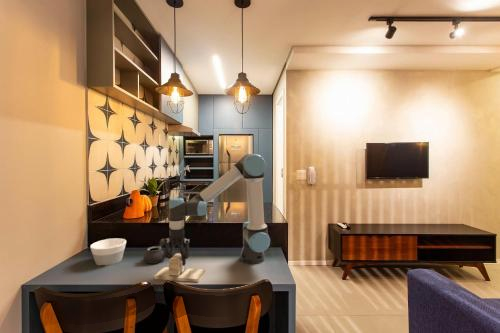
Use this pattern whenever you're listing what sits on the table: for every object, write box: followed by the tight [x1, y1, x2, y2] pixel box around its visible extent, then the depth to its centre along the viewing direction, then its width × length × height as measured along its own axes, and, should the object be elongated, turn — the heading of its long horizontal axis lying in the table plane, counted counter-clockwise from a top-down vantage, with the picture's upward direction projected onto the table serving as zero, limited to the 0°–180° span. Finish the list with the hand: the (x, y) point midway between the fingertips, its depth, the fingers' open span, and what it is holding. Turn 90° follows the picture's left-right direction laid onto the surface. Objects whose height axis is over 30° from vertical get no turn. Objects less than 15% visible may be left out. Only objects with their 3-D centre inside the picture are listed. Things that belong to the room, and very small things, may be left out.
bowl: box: [90, 237, 127, 266], centre depth 155 cm, size 19×19×11 cm
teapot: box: [143, 238, 171, 264], centre depth 159 cm, size 19×15×10 cm
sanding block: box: [168, 252, 186, 277], centre depth 136 cm, size 9×5×8 cm, turn 172°
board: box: [153, 266, 207, 283], centre depth 136 cm, size 24×11×2 cm, turn 82°
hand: (177, 270), depth 136 cm, fingers closed on sanding block, 5 cm apart
